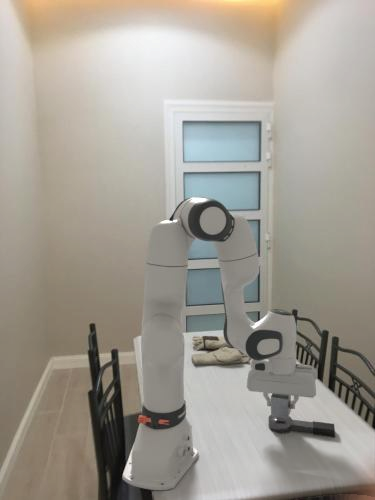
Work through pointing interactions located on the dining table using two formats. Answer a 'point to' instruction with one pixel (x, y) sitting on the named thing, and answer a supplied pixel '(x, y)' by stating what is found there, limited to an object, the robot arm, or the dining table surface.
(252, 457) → the dining table surface
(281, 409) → the plain grey cube block
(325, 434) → the ratchet
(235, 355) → the pair of gloves
